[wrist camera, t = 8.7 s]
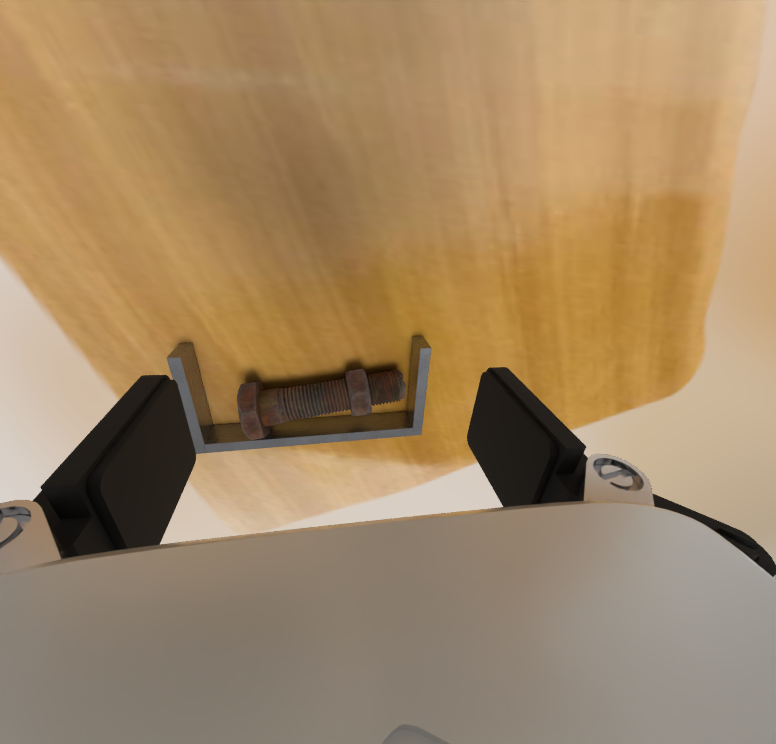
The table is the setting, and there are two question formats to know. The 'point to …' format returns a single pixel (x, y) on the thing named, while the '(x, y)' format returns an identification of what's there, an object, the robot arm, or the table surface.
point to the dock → (302, 429)
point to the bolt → (315, 399)
